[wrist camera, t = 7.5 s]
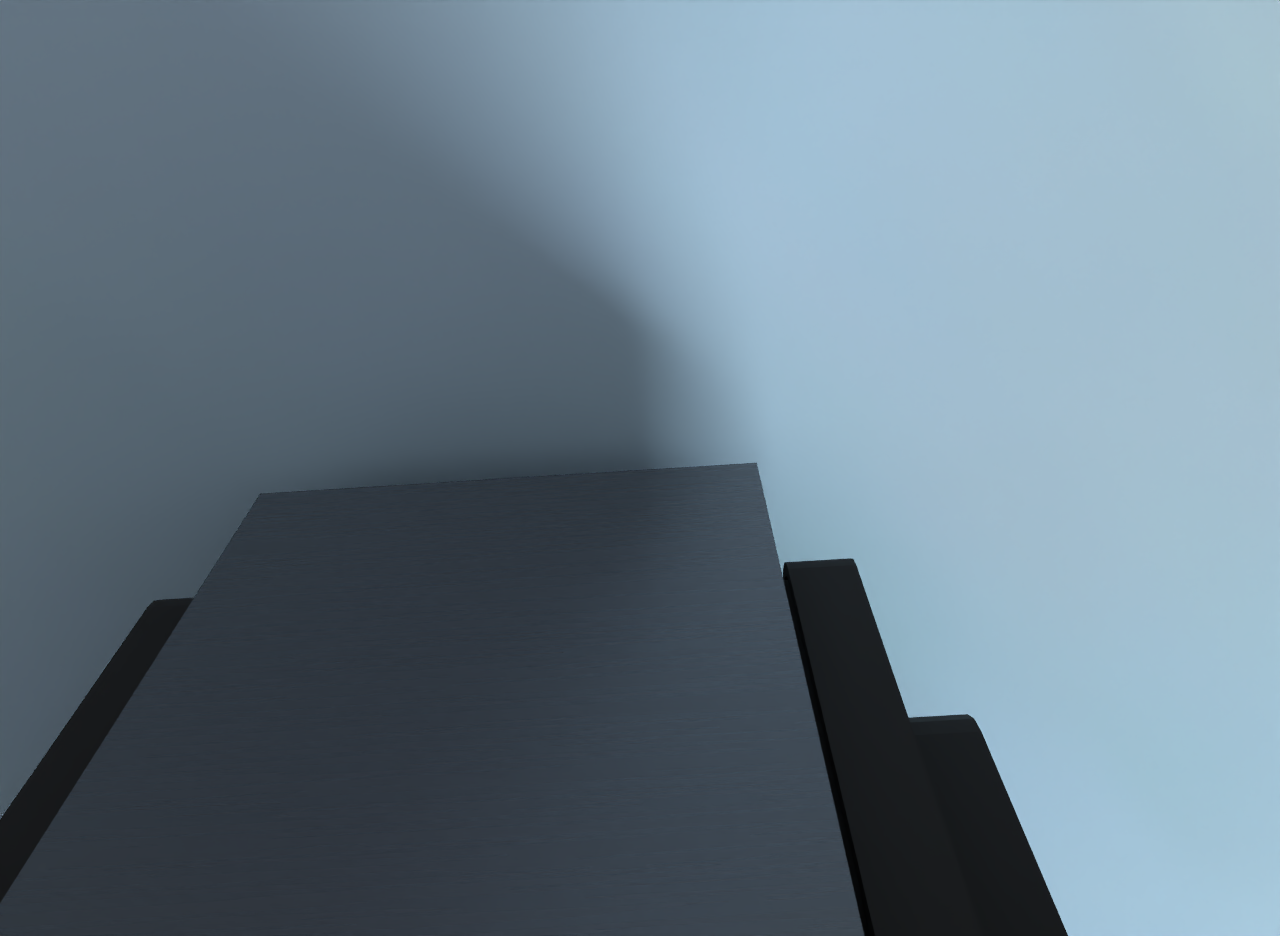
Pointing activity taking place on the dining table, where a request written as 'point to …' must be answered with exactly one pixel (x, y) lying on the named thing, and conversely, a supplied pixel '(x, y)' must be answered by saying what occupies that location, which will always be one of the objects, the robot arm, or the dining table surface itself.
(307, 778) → the grey mallet
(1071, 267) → the dining table surface
